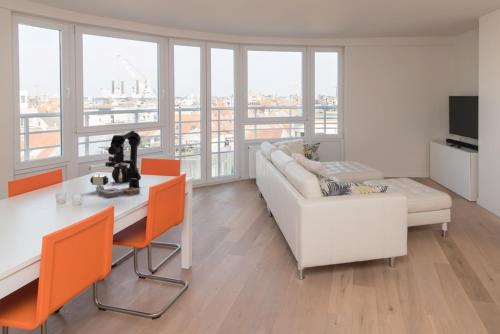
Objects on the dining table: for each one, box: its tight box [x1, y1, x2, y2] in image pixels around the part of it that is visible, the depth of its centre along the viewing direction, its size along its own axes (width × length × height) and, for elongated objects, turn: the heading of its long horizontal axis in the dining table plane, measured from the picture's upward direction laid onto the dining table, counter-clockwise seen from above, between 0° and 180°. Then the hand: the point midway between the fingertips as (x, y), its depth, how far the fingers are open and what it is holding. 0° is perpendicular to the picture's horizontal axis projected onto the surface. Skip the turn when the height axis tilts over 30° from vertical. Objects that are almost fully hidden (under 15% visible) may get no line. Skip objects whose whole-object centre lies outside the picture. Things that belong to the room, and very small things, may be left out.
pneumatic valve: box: [89, 173, 109, 192], centre depth 310 cm, size 6×12×12 cm, turn 84°
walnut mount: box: [120, 187, 140, 196], centre depth 302 cm, size 9×10×3 cm
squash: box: [111, 164, 129, 183], centre depth 344 cm, size 14×15×15 cm
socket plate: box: [97, 187, 126, 199], centre depth 298 cm, size 12×14×3 cm
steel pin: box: [118, 170, 123, 183], centre depth 298 cm, size 2×2×8 cm
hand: (120, 175), depth 298 cm, fingers closed on steel pin, 2 cm apart
